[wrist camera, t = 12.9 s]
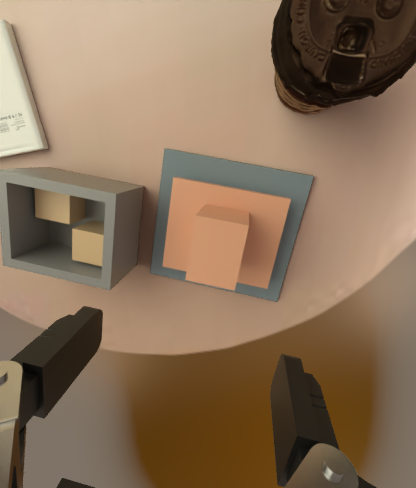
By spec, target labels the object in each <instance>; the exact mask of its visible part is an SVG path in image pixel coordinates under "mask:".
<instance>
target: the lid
mask: <svg viewBox="0 0 416 488" xmlns="http://www.w3.org/2000/svg"><path fill="white" fill-rule="evenodd" d="M290 202H291V199H290V198H288V197H283V196H277V195H272V194H266V193H261V192H256V191H250V190H245V189H240V188H234V187H229V186H223V185H218V184H213V183H207V182H202V181H197V180H191V179H186V178H180V177H173V184H172V192H171V200H170V208H169V217H168V225H167V233H166V241H165V249H164V258H163V267H168V268H172V269H177V270H182V271H186V278H185V280H187V281H192V282H197V283H201V284H206V285H210V286H215V287H220V288H224V289H229V290H233V291H235V287H236V283H242V284H247V285H251V286H256V287H261V288H265V289H267V288H268V284H269V281H270V277H271V273H272V269H273V266H274V262H275V258H276V254H277V251H278V247H279V243H280V239H281V235H282V232H283V228H284V224H285V220H286V217H287V213H288V209H289V205H290Z"/></svg>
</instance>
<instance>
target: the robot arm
mask: <svg viewBox="0 0 416 488" xmlns="http://www.w3.org/2000/svg"><path fill="white" fill-rule="evenodd" d="M102 319H103V312H102V310H100V309H95V308H91V307H87V306H84V307H82V308H81V309H80V310H79V311H78V312H77V313H76V314H75V315H74V316H73V315H67V316H65V317H63V318H61V319H59V320H57V321H56V322H54V323H53V324H52V325H51V326H50V327H49V328H48V329H46V330H45V331H44V332H43V333H42V334H41V335H40V336H38V337H37V338H36V339H35V340H33V341H32V342H31V343H30V344H29V345H27V346H26V347H25V348H24V349H23V350H22V351H21V352H19V353H18V354H17V355H16V356H15V357H14V358H12V359H11V360H10V361H0V488H23V476H24V460H25V445H26V429H27V428H26V424H27V422H28V421H29V420H30V419H31V417H32V416H33V415H34V416H38V417H41V418H45V417H46V416H47V415H48V413H49V412H50V411H51V410H52V408H53V407H54V405H55V404H56V403H57V402H58V401H59V399H60V398H61V397H62V395H63V394H64V393H65V392H66V390H67V389H68V388H69V387H70V385H71V384H72V383H73V381H74V380H75V379H76V378H77V376H78V375H79V374H80V372H81V371H82V370H83V369H84V367H85V366H86V365H87V363H88V362H89V361H90V360H91V358H92V357H93V356H94V355H95V353H96V352H97V350H98V348H99V346H100V343H101V339H102ZM270 397H271V410H272V423H273V435H274V447H275V459H276V472H277V484H278V486H282V487H284V488H376V487H375V486H373V485H371V484H370V483H368V482H366V481H365V480H363V479H362V478H361V477H359V476H358V475H357V473H356V470H355V468H354V466H353V465H352V463H351V462H350V460H349V459H348V458H347V457H346V456H345V455H344V454H343V453H342V452H341V451H340V450H339V447H338V444H337V440H336V437H335V434H334V430H333V427H332V424H331V421H330V417H329V414H328V411H327V410H326V404H325V401H324V400H323V398H324V397H323V394H322V391H321V387H320V385H319V384H318V382H317V381H316V379H315V378H314V377H313V375H312V374H308V373H304V370H303V366H302V362H301V359H300V358H297V357H292V356H289V355H284V354H281V356H280V359H279V362H278V365H277V368H276V371H275V374H274V377H273V381H272V385H271V393H270ZM57 488H94V487H91V486H88V485H84V484H81V483H78V482H74V481H71V480H68V479H64V478H62V479H61V481H60V483H59V484H58V486H57Z"/></svg>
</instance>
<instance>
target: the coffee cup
mask: <svg viewBox="0 0 416 488" xmlns="http://www.w3.org/2000/svg"><path fill="white" fill-rule="evenodd" d="M271 44H272V48H271V53H272V58H273V64H274V66H275V87H276V91H277V94H278V97H279V99H280V101H281V102H282V103H283V104H284V105H285V106H286V107H288V108H289V109H291V110H293V111H295V112H299V113H302V114H309V113H319V112H321V111H322V110H323V109H328V108H330V107H331V106H332V105H333V106H335V105H338V104H342V103H346V102H350V101H354V100H359V99H362V98H365V97H368V96H370V95H371V96H374V97H377V96H378V95H379V94H382V93H383V92H384V91H385V90H386V89H387V88H388V87H389V86H391V85H392V84H393V83H394V82H396V81H397V80H398V79H401V78H402V77H403V76H404V75H405V73H406V72H407V71H408V70H409V69H410V68H411V67H412V66H413V65H414V64H415V63H416V0H282V2H281V5H280V7H279V10H278V12H277V14H276V16H275V19H274V25H273V32H272V40H271Z"/></svg>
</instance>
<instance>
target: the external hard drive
mask: <svg viewBox="0 0 416 488" xmlns="http://www.w3.org/2000/svg"><path fill="white" fill-rule="evenodd" d="M44 149H48V145H47V141H46V138H45V135H44V131H43V128H42V125H41V121H40V118H39V115H38V111H37V108H36V105H35V101H34V98H33V95H32V92H31V88H30V85H29V82H28V78H27V75H26V72H25V69H24V65H23V62H22V59H21V55H20V52H19V49H18V45H17V42H16V39H15V35H14V32H13V29H12V26H11V24H10V23H9V22H7V21H5V20H0V158H2V157H7V156H12V155H16V154H21V153H28V152H33V151H39V150H44Z"/></svg>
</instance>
